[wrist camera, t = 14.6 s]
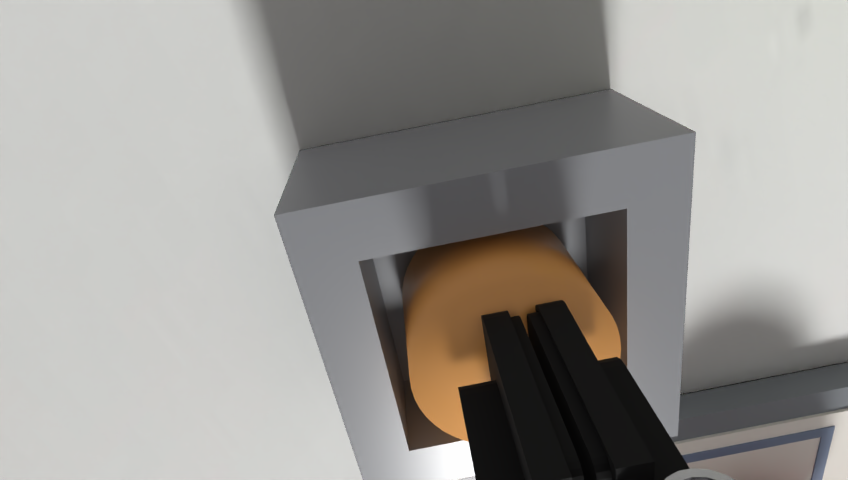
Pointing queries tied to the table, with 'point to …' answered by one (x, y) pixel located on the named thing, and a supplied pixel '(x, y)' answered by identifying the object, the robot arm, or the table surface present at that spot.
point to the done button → (487, 310)
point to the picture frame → (770, 427)
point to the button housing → (478, 217)
